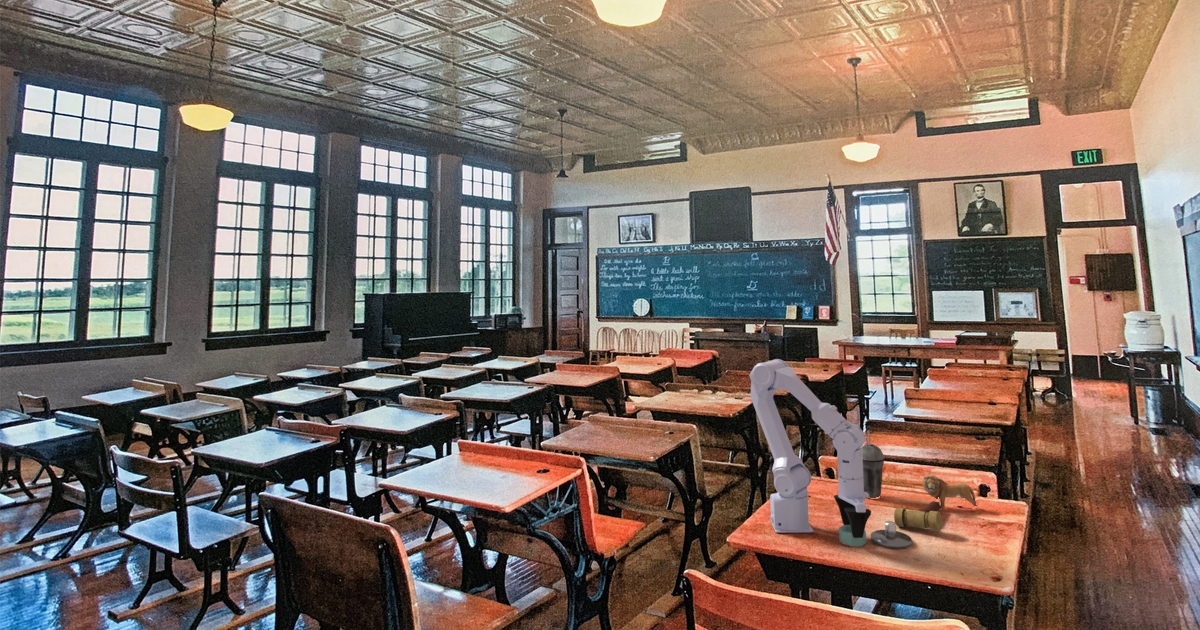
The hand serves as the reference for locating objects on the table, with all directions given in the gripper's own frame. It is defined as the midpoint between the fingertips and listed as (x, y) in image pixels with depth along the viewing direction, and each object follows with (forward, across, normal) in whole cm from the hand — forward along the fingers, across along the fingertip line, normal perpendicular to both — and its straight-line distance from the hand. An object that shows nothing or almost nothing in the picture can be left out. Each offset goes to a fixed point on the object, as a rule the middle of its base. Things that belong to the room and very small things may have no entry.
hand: (852, 530), depth 146 cm
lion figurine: (+3, +20, -32) cm, 38 cm away
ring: (+3, 0, 0) cm, 3 cm away
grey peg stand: (+3, 0, -9) cm, 9 cm away
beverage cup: (+3, +31, -15) cm, 35 cm away
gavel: (+2, +13, -23) cm, 26 cm away
